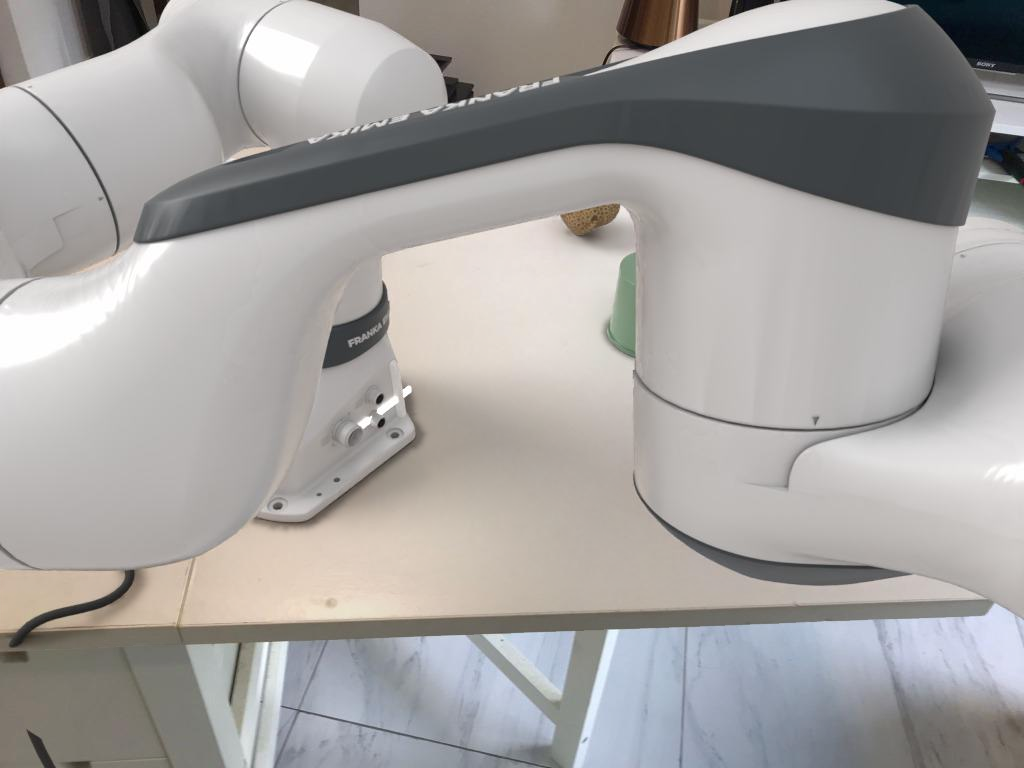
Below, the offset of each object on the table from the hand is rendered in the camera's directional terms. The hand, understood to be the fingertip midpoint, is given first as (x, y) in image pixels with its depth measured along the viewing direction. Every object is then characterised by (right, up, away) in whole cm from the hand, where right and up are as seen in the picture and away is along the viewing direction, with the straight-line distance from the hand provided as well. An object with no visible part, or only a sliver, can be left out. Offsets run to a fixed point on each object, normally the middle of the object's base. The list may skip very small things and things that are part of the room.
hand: (880, 245), depth 46 cm
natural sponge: (-11, +13, +67) cm, 70 cm away
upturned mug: (-5, -2, +50) cm, 50 cm away
